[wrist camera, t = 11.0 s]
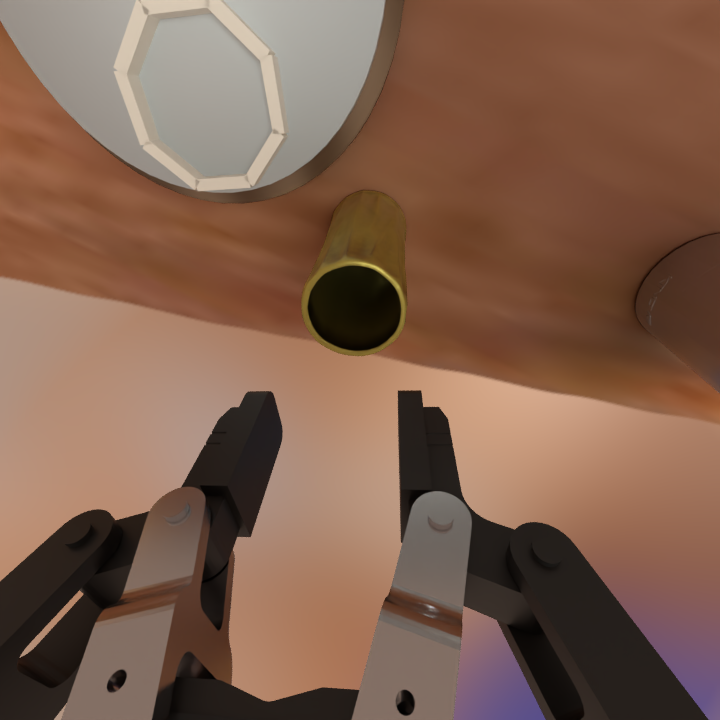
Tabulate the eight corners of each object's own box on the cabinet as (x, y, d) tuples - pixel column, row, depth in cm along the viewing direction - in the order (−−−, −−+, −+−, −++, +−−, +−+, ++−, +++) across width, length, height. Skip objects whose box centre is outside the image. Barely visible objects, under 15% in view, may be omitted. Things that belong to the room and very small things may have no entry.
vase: (396, 178, 27) (400, 232, 15) (413, 256, 30) (428, 350, 18) (319, 203, 28) (270, 270, 16) (344, 275, 31) (317, 374, 20)
